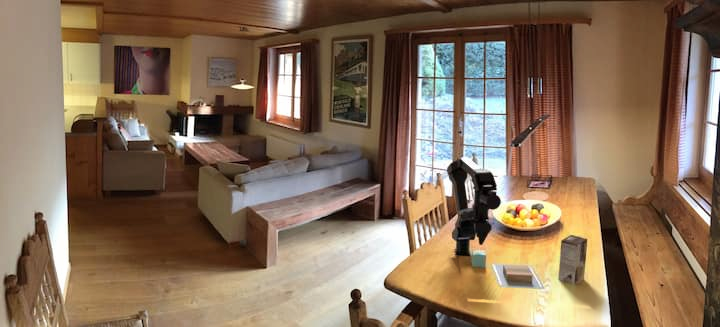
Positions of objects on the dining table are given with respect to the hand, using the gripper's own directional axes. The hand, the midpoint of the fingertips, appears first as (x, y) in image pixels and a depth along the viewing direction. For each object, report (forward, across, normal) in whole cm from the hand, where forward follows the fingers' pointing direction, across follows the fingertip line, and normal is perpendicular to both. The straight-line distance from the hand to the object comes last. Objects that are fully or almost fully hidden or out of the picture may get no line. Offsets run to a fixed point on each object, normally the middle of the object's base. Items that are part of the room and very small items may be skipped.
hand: (479, 240), depth 195 cm
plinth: (+10, +11, +13) cm, 20 cm away
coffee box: (+11, +9, +33) cm, 36 cm away
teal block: (+11, 0, 0) cm, 11 cm away
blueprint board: (+11, +9, +13) cm, 19 cm away
